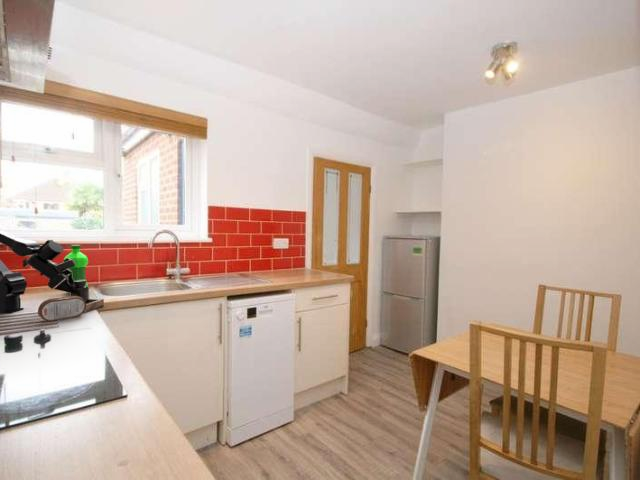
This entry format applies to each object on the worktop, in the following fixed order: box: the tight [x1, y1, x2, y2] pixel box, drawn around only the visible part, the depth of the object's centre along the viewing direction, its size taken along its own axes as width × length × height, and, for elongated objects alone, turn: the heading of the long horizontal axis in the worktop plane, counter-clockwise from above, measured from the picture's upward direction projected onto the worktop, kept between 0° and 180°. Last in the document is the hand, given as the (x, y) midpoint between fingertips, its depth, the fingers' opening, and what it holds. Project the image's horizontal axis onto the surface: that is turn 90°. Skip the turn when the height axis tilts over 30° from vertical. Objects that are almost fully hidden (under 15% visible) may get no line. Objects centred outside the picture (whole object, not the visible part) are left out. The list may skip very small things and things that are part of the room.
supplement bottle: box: [69, 279, 90, 304], centre depth 145 cm, size 7×7×12 cm
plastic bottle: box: [63, 244, 89, 287], centre depth 174 cm, size 10×10×25 cm
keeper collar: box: [82, 298, 105, 314], centre depth 145 cm, size 12×12×3 cm
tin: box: [37, 295, 86, 322], centre depth 130 cm, size 15×3×8 cm, turn 141°
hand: (77, 290), depth 144 cm, fingers open, 9 cm apart
